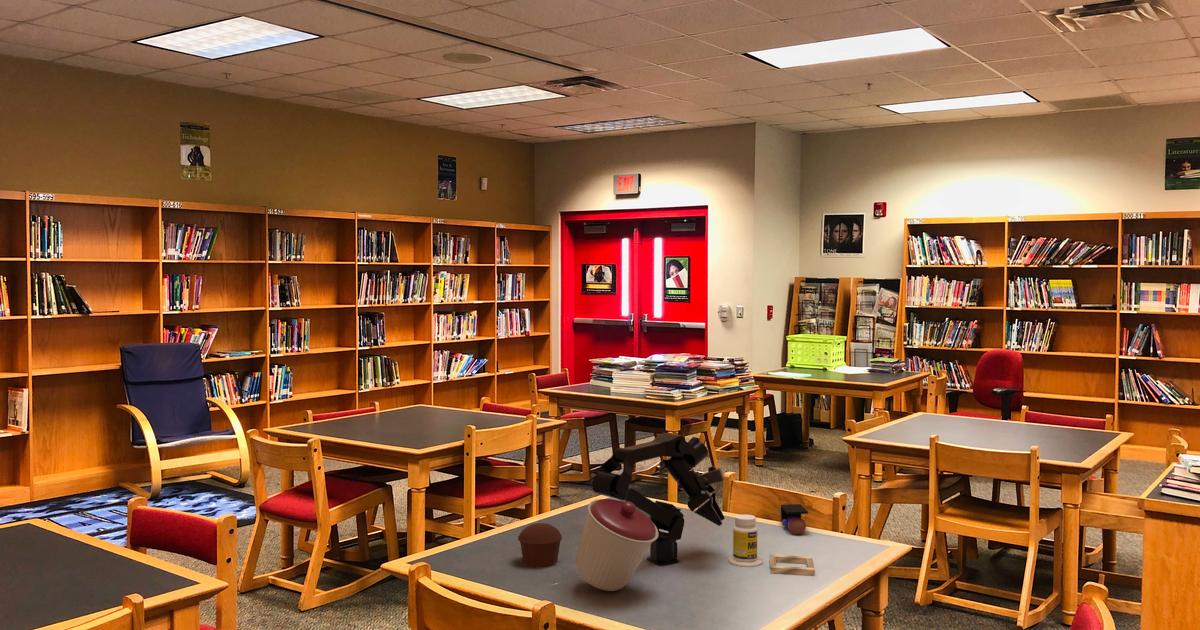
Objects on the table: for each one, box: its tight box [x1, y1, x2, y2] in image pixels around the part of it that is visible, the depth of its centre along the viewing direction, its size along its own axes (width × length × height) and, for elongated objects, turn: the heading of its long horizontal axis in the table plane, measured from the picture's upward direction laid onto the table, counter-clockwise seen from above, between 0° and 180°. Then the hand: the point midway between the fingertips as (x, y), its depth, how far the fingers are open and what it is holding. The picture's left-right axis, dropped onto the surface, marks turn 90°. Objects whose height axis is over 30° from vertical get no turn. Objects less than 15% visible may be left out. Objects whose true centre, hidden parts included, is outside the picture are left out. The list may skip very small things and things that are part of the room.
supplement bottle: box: [732, 514, 758, 562], centre depth 241 cm, size 6×6×11 cm
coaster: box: [728, 554, 764, 568], centre depth 241 cm, size 9×9×1 cm
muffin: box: [517, 522, 563, 568], centre depth 239 cm, size 12×11×10 cm
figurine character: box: [778, 503, 809, 536], centre depth 272 cm, size 7×8×15 cm
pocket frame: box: [769, 554, 816, 577], centre depth 236 cm, size 11×11×2 cm
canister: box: [574, 498, 658, 592], centre depth 217 cm, size 18×18×21 cm
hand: (722, 522), depth 241 cm, fingers open, 9 cm apart
